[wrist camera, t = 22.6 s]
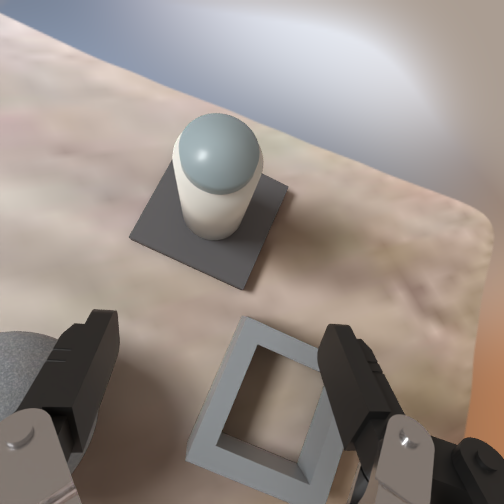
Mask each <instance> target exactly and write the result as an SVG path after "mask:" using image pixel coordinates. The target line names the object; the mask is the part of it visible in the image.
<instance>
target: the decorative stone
mask: <svg viewBox="0 0 504 504" xmlns="http://www.w3.org/2000/svg"><path fill="white" fill-rule="evenodd" d="M57 341H58V339H55V338H53V337H50V336H47V335H43V334H39V333H32V332H21V331H11V332H0V422H1V421H2V420H3V419H5V418H6V417H8V416H9V415H11V414H13V413H14V412H15V411H16V410H17V408H18V407H19V405H20V404H21V402H22V400H23V399H24V397H25V395H26V393H27V392H28V390H29V388H30V387H31V385H32V383H33V382H34V380H35V378H36V377H37V375H38V373H39V371H40V370H41V368H42V366H43V365H44V363H45V362H46V361H47V358H48V356H49V354H50V353H51V351H53V348H54V346H55V344H56V343H57ZM98 410H99V409H98ZM97 418H98V412H97V415H96V418H95V420H94V423H93V426H92V429H91V432H90V434H89V437H88V440H87V443H86V446H85V448H84V451H83V453H71V455H70V457H69V460H68V462H67V465H68V468H69V471H70V474H72V473H73V471H74V470H75V468H76V467H77V465H78V464H79V463H80V461H81V459H82V457H83V456H84V454H85V452H86V450H87V448H88V446H89V443H90V441H91V439H92V436H93V433H94V430H95V427H96V422H97Z"/></svg>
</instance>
